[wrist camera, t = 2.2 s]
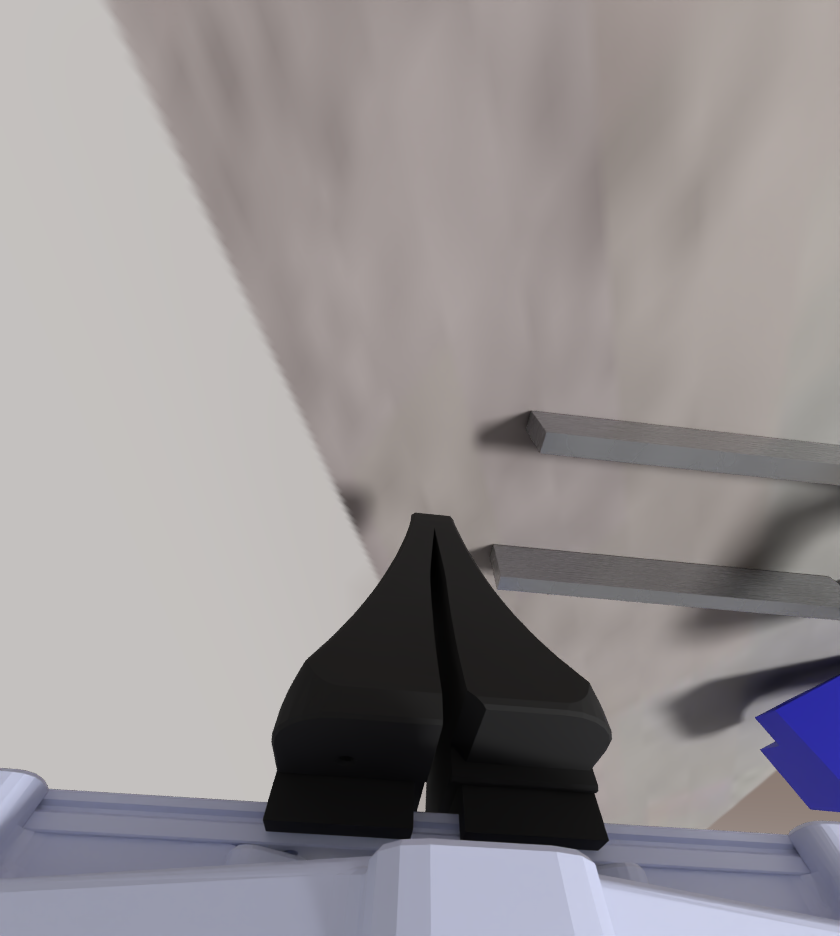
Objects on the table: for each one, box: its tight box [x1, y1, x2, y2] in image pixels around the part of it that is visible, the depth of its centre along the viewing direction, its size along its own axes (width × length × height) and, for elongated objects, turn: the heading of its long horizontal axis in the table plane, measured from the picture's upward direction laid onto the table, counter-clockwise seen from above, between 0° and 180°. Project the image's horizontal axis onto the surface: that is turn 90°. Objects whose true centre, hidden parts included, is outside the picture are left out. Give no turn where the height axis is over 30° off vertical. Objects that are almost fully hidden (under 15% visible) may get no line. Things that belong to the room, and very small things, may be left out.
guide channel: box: [490, 411, 840, 620], centre depth 15 cm, size 8×17×2 cm, turn 84°
